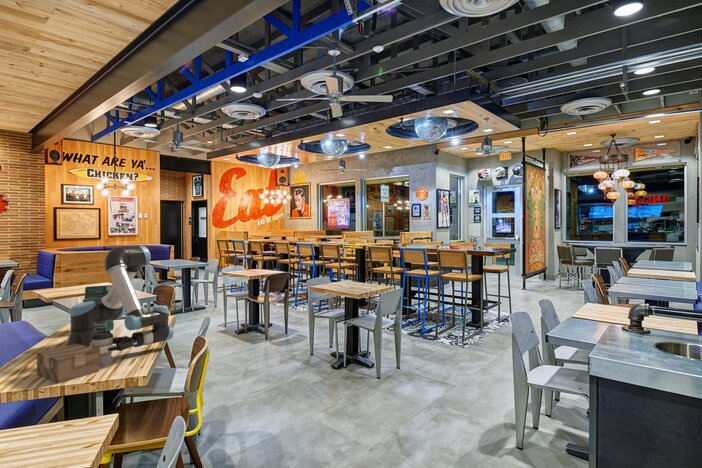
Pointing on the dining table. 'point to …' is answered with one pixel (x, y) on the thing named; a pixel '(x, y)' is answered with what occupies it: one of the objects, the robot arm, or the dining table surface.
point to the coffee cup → (103, 345)
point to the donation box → (96, 295)
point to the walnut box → (67, 362)
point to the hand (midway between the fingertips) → (94, 348)
